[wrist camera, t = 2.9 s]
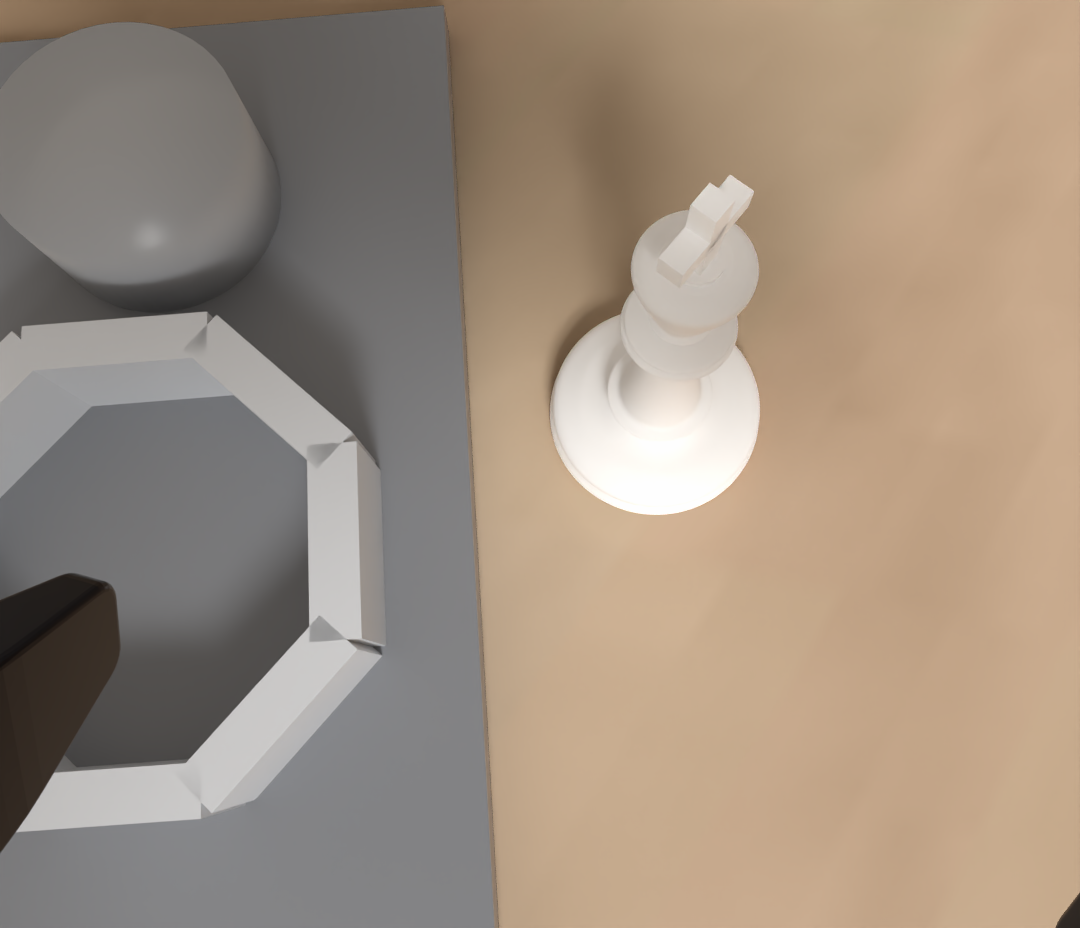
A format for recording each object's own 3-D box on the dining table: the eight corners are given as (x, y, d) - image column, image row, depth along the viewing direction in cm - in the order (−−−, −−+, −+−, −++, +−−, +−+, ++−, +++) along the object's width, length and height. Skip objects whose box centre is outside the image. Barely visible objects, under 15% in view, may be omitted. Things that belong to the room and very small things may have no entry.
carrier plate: (504, 1038, 20) (488, 1120, 16) (-168, 1084, 20) (-345, 1175, 16) (448, 31, 26) (426, -88, 22) (-74, 75, 26) (-188, -35, 22)
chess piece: (799, 398, 23) (966, 176, 13) (672, 558, 22) (750, 447, 12) (635, 278, 24) (679, -13, 14) (507, 427, 23) (459, 228, 13)
